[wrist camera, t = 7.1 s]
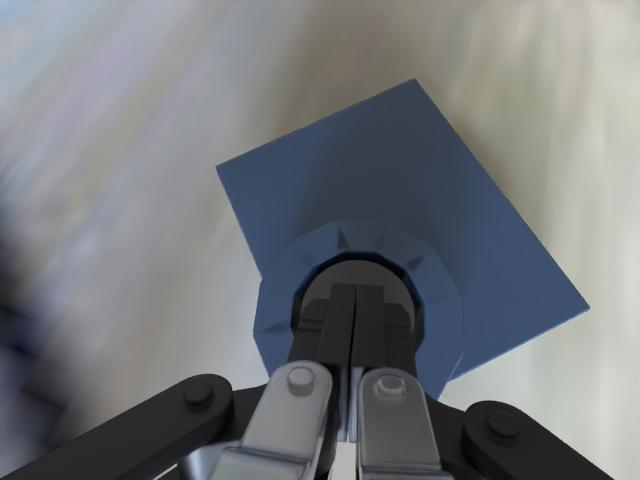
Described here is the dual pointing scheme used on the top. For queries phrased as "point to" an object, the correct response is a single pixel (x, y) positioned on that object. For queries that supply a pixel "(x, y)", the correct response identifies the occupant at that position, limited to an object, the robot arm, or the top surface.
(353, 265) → the button
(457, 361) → the blue square base
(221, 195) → the top surface
